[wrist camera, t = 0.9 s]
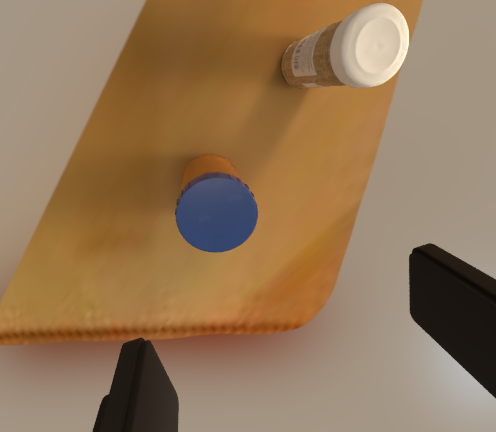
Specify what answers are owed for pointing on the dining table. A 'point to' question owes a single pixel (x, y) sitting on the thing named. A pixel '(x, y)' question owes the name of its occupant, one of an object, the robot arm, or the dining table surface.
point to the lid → (216, 212)
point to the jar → (207, 168)
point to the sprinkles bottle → (350, 50)
